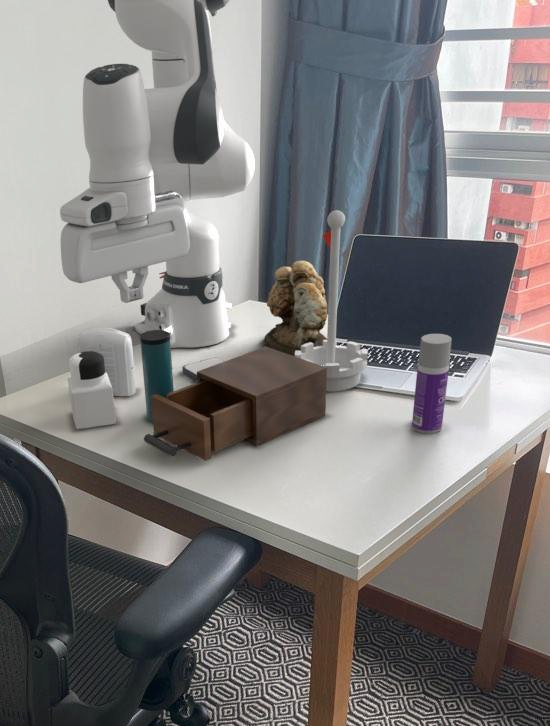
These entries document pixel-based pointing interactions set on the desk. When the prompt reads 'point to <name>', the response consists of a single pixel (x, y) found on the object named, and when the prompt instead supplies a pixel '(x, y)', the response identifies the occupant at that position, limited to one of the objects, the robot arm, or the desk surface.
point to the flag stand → (338, 359)
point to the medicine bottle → (90, 391)
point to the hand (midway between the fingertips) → (132, 300)
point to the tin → (156, 365)
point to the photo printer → (112, 356)
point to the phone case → (199, 367)
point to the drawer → (200, 419)
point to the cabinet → (273, 390)
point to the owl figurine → (297, 308)
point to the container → (431, 383)
